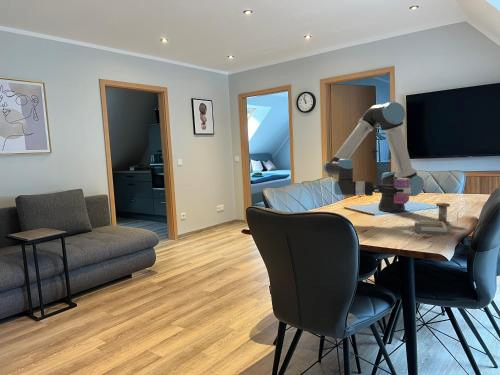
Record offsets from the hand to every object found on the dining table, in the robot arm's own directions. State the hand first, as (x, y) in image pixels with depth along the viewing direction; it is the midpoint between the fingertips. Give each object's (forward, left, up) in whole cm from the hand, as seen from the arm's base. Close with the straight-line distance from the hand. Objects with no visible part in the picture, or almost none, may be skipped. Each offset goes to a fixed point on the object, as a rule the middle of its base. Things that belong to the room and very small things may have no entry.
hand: (410, 189), depth 183 cm
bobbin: (+15, +3, -18) cm, 23 cm away
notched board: (+9, -12, -18) cm, 23 cm away
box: (-4, 0, -7) cm, 8 cm away
